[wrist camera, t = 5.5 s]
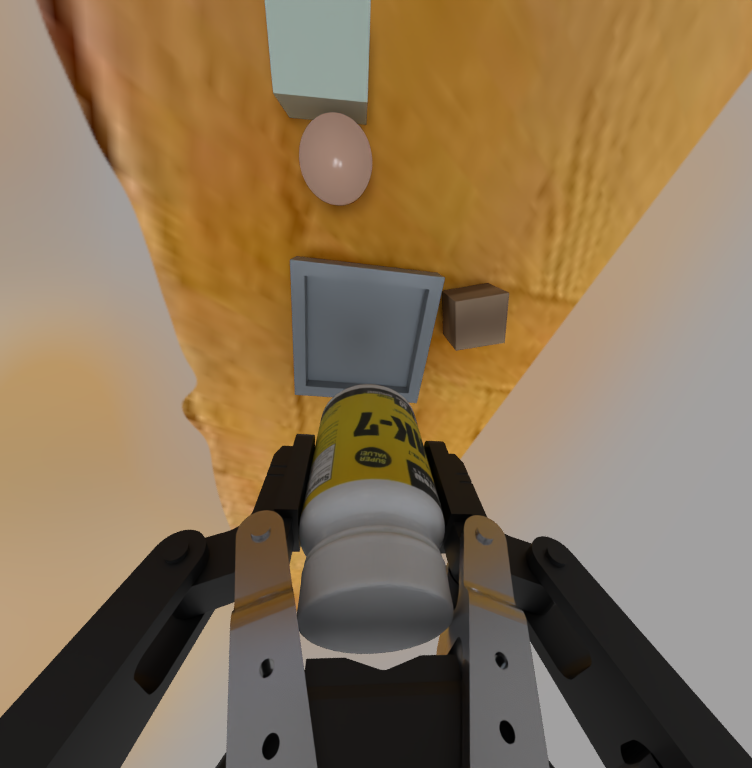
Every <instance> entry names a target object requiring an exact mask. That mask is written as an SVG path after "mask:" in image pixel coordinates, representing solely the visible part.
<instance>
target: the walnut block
mask: <svg viewBox="0 0 752 768" xmlns="http://www.w3.org/2000/svg"><path fill="white" fill-rule="evenodd" d="M508 300H509V293H508V292H506V291H504V290H502V289H500V288H498V287H495V286H493V285H491V284H489V283H485V284H479V285H473V286H467V287H461V288H455V289H449V290H443V291H442V310H443V334H444V336H445V337H446V338H447V340H448V341H449V342H450V344H451V345H452V346H453V347H454V349H455V350H462V349H468V348H475V347H481V346H487V345H493V344H499V343H505V333H506V322H507V311H508Z"/></svg>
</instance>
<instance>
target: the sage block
mask: <svg viewBox="0 0 752 768" xmlns="http://www.w3.org/2000/svg"><path fill="white" fill-rule="evenodd" d="M370 5H371V0H265V9H266V20H267V31H268V42H269V52H270V63H271V74H272V85H273V93H274V95H275V96H276V98H277V99H278V101H279V102H280V104H281V105H282V107H283V109H284V110H285V112H286V113H287V115H288V116H289V118H300V119H310V120H314V119H315V118H316V117H318V116H319V115H321V114H324V113H329V112H336V113H341V114H344V115H346V116H348V117H350V118H351V119H352V120H354V121H355V122H356V123H357V124H363V125H366V118H367V100H368V69H369V37H370Z"/></svg>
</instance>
